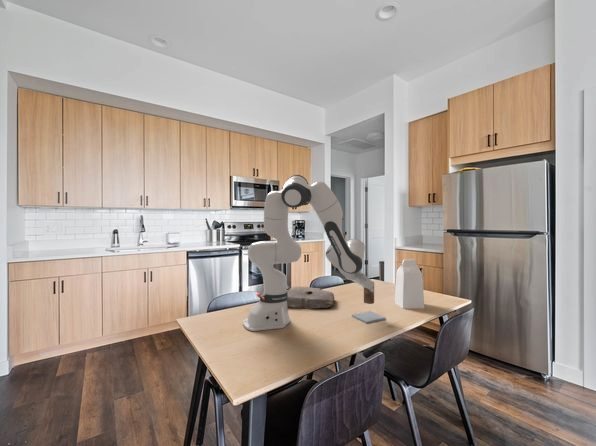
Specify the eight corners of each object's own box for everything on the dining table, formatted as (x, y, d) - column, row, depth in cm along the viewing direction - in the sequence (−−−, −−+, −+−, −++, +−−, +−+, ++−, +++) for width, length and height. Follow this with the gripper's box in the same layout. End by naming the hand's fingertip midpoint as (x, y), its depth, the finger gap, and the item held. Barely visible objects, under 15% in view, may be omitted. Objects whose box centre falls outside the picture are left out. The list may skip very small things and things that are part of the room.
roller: (368, 304, 133) (368, 283, 133) (361, 301, 137) (361, 281, 137) (376, 302, 135) (376, 282, 135) (369, 300, 140) (369, 280, 140)
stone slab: (277, 308, 154) (277, 297, 154) (289, 294, 183) (289, 284, 183) (333, 311, 148) (333, 299, 148) (335, 296, 177) (335, 286, 177)
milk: (414, 302, 162) (414, 258, 162) (424, 308, 151) (424, 261, 151) (394, 302, 162) (394, 258, 162) (402, 308, 151) (402, 261, 150)
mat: (366, 323, 129) (366, 321, 129) (351, 316, 139) (351, 314, 139) (385, 319, 135) (385, 317, 135) (370, 312, 145) (370, 311, 144)
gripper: (364, 269, 125) (384, 289, 127) (347, 262, 145) (364, 280, 147) (355, 279, 124) (375, 299, 126) (339, 271, 144) (357, 289, 146)
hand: (369, 289), depth 136 cm, fingers closed on roller, 5 cm apart
